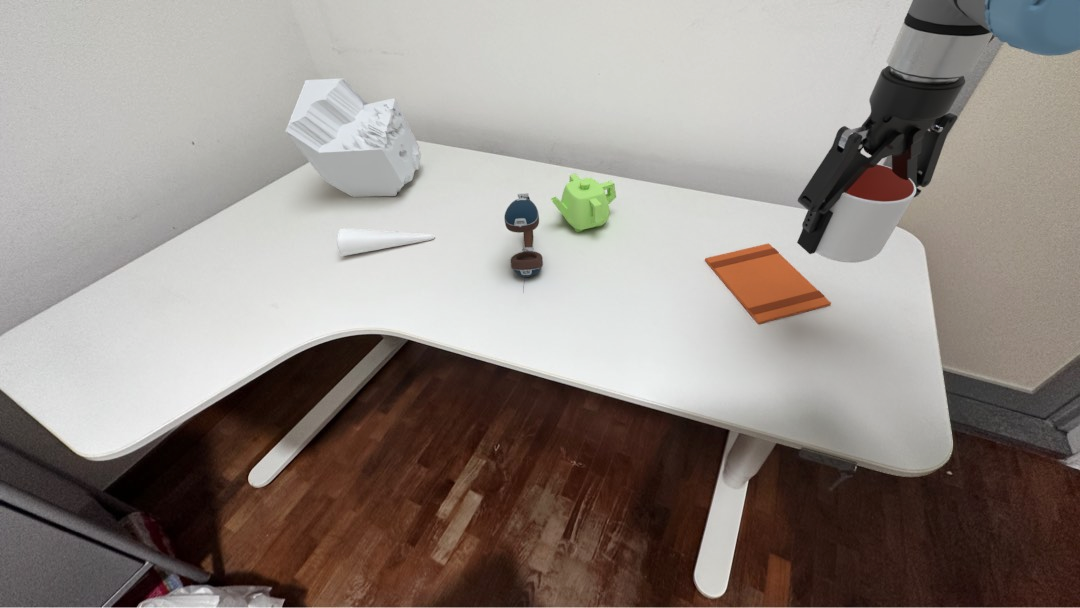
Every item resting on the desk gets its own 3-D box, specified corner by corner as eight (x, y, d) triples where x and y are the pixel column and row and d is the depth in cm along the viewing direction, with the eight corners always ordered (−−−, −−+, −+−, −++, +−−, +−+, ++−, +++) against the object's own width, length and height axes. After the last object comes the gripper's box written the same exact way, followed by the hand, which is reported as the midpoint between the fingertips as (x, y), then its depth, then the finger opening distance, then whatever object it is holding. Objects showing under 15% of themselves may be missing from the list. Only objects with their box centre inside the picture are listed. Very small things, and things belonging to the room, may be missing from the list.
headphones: (542, 305, 83) (544, 241, 100) (535, 233, 73) (539, 176, 90) (508, 307, 83) (516, 243, 100) (497, 235, 74) (508, 177, 91)
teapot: (571, 202, 108) (570, 164, 101) (617, 211, 104) (619, 172, 97) (550, 230, 101) (548, 191, 94) (600, 241, 97) (601, 201, 90)
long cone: (433, 261, 98) (341, 261, 97) (436, 246, 103) (349, 245, 102) (430, 238, 95) (334, 238, 94) (434, 223, 100) (343, 222, 99)
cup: (809, 215, 69) (835, 154, 62) (884, 236, 65) (922, 172, 58) (790, 251, 64) (816, 188, 57) (871, 276, 59) (910, 211, 52)
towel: (830, 305, 80) (831, 302, 79) (758, 324, 78) (759, 321, 77) (767, 245, 92) (768, 242, 92) (704, 260, 90) (705, 257, 90)
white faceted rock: (427, 155, 124) (390, 75, 101) (417, 203, 117) (375, 128, 95) (356, 157, 126) (305, 79, 104) (342, 204, 120) (285, 131, 97)
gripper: (982, 44, 52) (888, 209, 68) (805, 75, 49) (751, 240, 65) (1049, 64, 47) (931, 238, 63) (856, 101, 44) (784, 274, 60)
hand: (839, 239), depth 64 cm, fingers closed on cup, 10 cm apart
